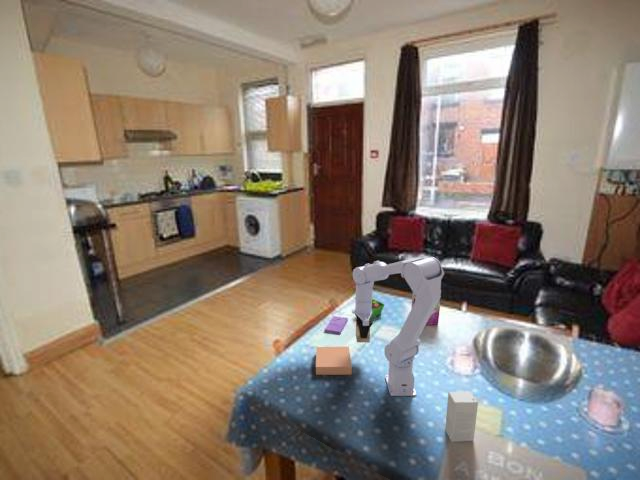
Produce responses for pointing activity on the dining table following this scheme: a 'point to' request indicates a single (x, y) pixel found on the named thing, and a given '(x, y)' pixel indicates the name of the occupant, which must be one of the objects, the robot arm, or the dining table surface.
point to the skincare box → (461, 416)
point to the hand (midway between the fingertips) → (362, 334)
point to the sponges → (336, 324)
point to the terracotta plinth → (333, 361)
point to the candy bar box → (435, 314)
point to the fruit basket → (376, 308)
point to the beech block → (360, 337)
